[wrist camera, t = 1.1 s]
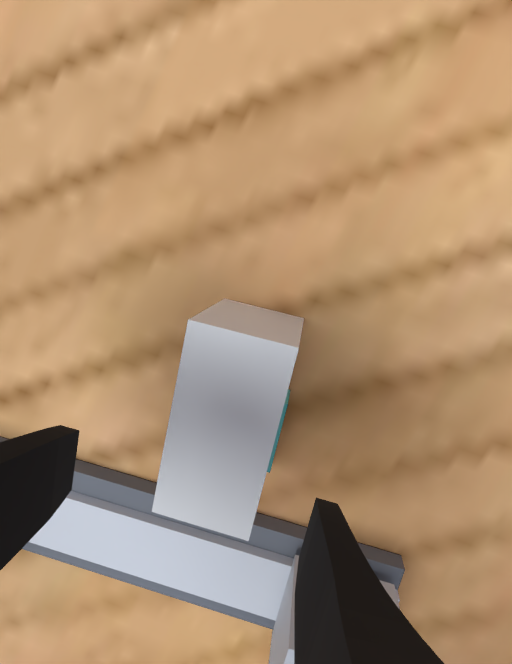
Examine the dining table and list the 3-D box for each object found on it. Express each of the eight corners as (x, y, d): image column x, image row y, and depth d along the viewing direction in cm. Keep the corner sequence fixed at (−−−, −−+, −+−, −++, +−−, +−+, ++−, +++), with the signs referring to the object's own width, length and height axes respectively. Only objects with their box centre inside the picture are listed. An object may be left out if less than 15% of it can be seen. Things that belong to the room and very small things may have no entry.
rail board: (400, 555, 22) (435, 685, 15) (368, 643, 23) (388, 795, 17) (-45, 423, 24) (-175, 488, 18) (-50, 510, 25) (-172, 600, 19)
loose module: (307, 318, 20) (303, 348, 14) (269, 463, 22) (252, 542, 16) (224, 298, 20) (188, 319, 15) (194, 442, 22) (151, 511, 16)
